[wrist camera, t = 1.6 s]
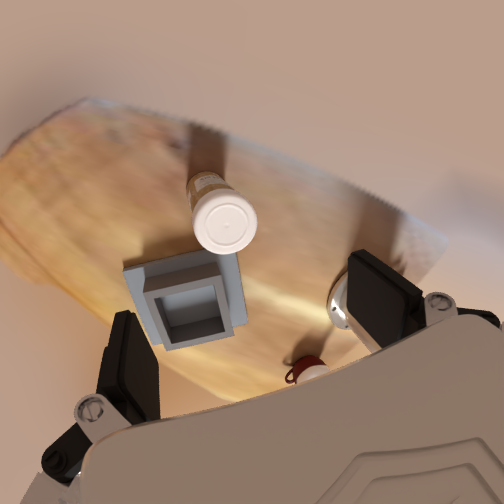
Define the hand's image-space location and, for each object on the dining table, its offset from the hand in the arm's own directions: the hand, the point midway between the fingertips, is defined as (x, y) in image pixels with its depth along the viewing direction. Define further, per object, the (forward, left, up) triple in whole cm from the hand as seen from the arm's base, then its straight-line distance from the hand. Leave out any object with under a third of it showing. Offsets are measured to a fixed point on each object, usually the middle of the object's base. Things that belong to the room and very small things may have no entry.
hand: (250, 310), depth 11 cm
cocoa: (-12, +32, -23) cm, 41 cm away
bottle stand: (+4, +12, -22) cm, 26 cm away
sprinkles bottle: (-1, -1, -23) cm, 23 cm away
